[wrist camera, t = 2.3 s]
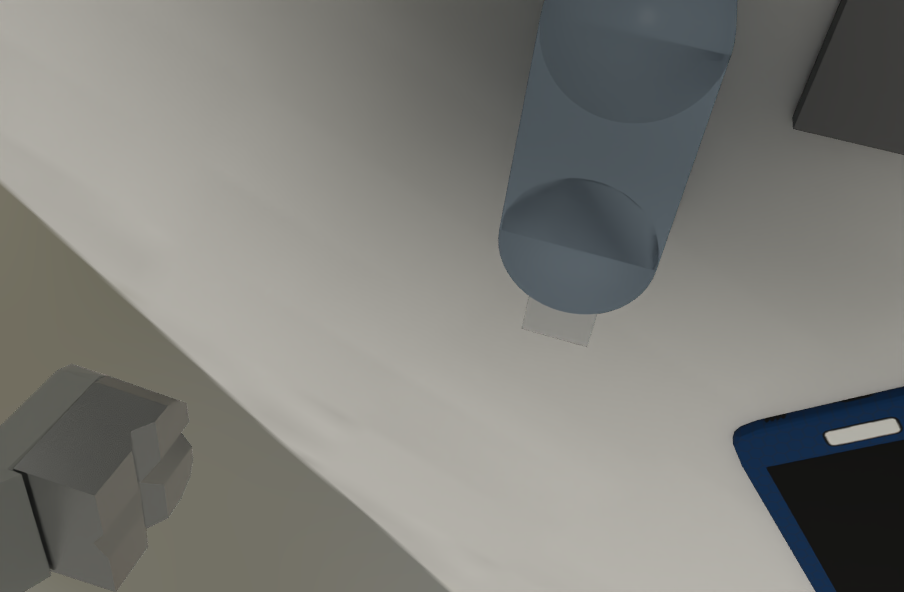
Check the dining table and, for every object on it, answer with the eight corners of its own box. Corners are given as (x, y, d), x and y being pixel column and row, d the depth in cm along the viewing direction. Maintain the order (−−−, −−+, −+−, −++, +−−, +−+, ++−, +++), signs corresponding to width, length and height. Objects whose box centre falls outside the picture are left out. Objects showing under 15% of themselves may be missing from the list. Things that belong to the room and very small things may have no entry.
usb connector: (630, -308, 16) (601, -302, 13) (823, -276, 15) (841, -262, 12) (509, 268, 24) (475, 354, 21) (630, 301, 24) (613, 394, 21)
